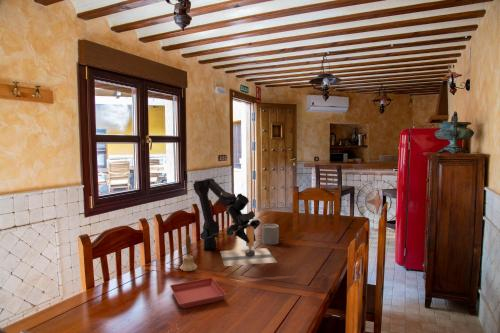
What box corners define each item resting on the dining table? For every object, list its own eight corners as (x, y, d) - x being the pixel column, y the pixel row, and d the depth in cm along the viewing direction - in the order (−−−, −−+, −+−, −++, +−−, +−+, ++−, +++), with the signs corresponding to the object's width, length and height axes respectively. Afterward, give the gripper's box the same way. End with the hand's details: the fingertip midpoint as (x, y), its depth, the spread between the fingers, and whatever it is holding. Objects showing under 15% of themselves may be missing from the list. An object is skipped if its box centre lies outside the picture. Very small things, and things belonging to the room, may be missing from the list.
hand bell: (200, 266, 170) (199, 233, 169) (192, 272, 163) (191, 238, 161) (185, 264, 173) (184, 232, 172) (176, 270, 165) (175, 237, 164)
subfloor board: (224, 268, 167) (224, 266, 167) (219, 253, 190) (219, 251, 190) (277, 264, 172) (277, 262, 172) (266, 249, 194) (266, 248, 194)
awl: (246, 257, 170) (246, 228, 169) (244, 254, 174) (244, 226, 173) (255, 256, 171) (255, 228, 170) (253, 253, 175) (253, 225, 174)
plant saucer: (179, 312, 125) (179, 303, 125) (169, 292, 142) (169, 284, 142) (226, 302, 132) (226, 294, 132) (212, 284, 149) (212, 277, 149)
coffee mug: (272, 245, 202) (272, 228, 201) (258, 242, 208) (258, 226, 208) (285, 240, 212) (285, 224, 212) (272, 237, 219) (272, 221, 218)
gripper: (229, 209, 167) (245, 236, 160) (257, 204, 180) (273, 229, 173) (219, 222, 174) (234, 249, 166) (247, 216, 186) (262, 241, 179)
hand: (251, 241), depth 171 cm, fingers closed on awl, 4 cm apart
